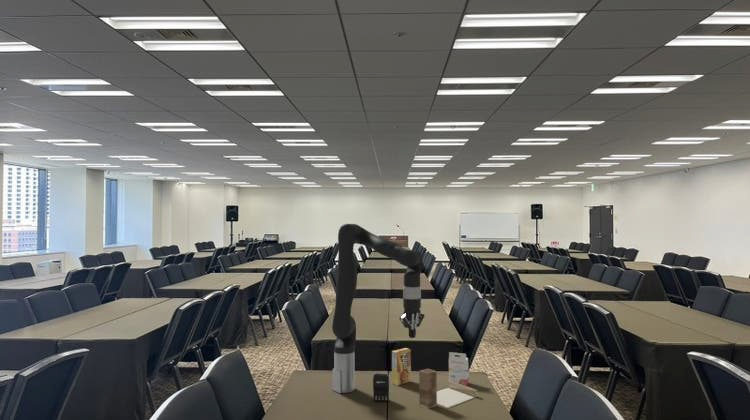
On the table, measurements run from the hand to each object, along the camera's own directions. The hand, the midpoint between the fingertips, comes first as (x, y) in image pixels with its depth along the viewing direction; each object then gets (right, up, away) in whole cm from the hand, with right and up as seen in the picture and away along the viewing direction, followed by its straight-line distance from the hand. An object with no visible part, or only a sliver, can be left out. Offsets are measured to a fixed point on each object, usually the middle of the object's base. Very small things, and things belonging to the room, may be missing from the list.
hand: (412, 337), depth 198 cm
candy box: (-3, -28, +22) cm, 36 cm away
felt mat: (+15, -27, +3) cm, 31 cm away
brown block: (+6, -27, -5) cm, 28 cm away
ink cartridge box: (+24, -28, +21) cm, 42 cm away
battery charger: (-13, -27, 0) cm, 30 cm away
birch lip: (+23, -27, +9) cm, 37 cm away
